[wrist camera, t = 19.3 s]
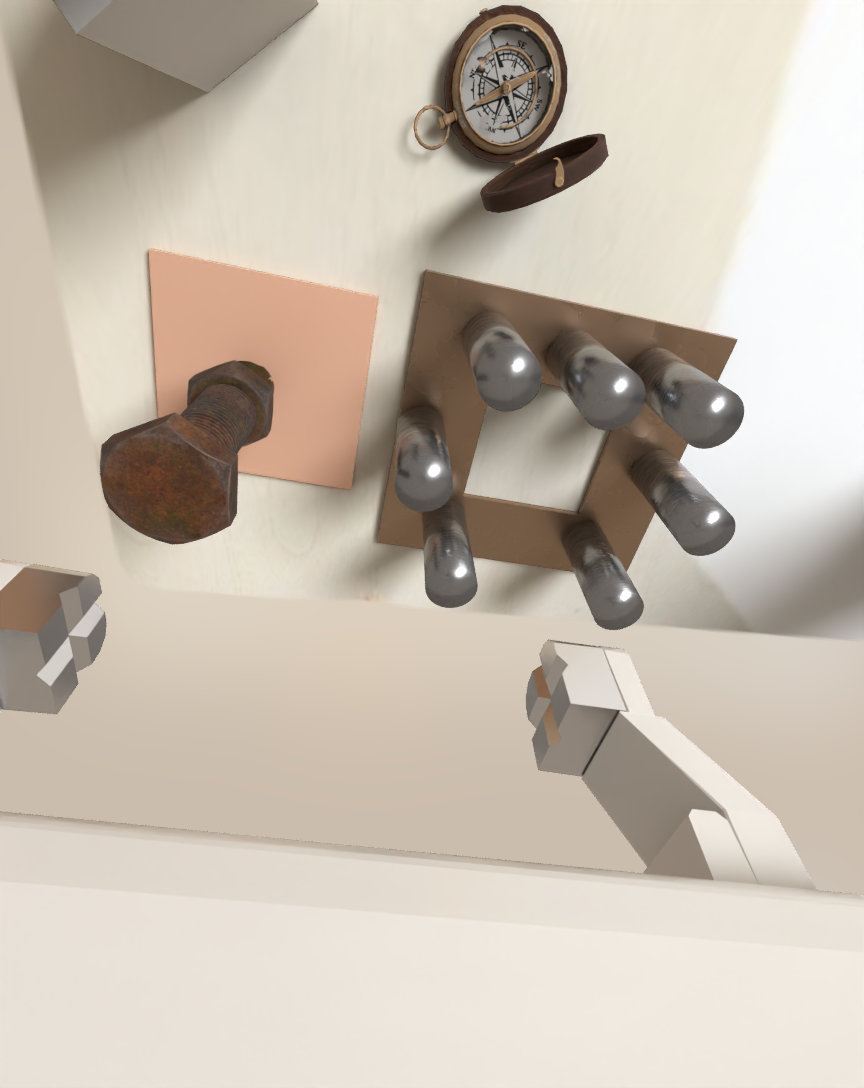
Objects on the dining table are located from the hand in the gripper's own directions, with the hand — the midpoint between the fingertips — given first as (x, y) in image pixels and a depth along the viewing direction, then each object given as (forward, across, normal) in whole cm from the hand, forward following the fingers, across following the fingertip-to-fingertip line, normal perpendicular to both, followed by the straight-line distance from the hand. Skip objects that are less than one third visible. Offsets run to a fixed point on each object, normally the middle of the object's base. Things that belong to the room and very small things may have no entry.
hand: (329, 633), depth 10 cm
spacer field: (+29, -11, +7) cm, 32 cm away
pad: (+28, +8, +6) cm, 30 cm away
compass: (+29, -3, -10) cm, 31 cm away
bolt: (+28, +8, +6) cm, 30 cm away
